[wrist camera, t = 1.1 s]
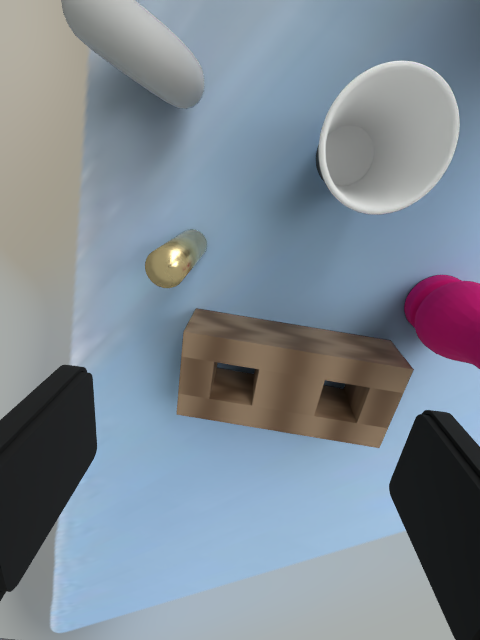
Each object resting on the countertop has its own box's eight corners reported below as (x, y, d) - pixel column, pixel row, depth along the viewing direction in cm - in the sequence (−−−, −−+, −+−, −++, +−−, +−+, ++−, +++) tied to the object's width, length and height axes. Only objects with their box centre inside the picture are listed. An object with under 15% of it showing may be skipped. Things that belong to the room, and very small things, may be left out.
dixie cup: (341, 221, 31) (378, 241, 21) (281, 162, 29) (291, 152, 19) (409, 151, 28) (490, 135, 18) (348, 81, 26) (400, 20, 16)
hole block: (188, 382, 40) (176, 414, 34) (195, 308, 36) (183, 331, 30) (363, 411, 40) (379, 447, 34) (390, 340, 36) (413, 369, 30)
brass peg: (179, 227, 32) (145, 245, 23) (208, 232, 32) (186, 252, 23) (177, 256, 33) (144, 284, 24) (205, 260, 33) (183, 290, 24)
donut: (221, 87, 27) (199, 40, 18) (202, 127, 29) (173, 102, 19) (114, 11, 26) (32, -82, 17) (99, 58, 27) (15, -6, 18)
